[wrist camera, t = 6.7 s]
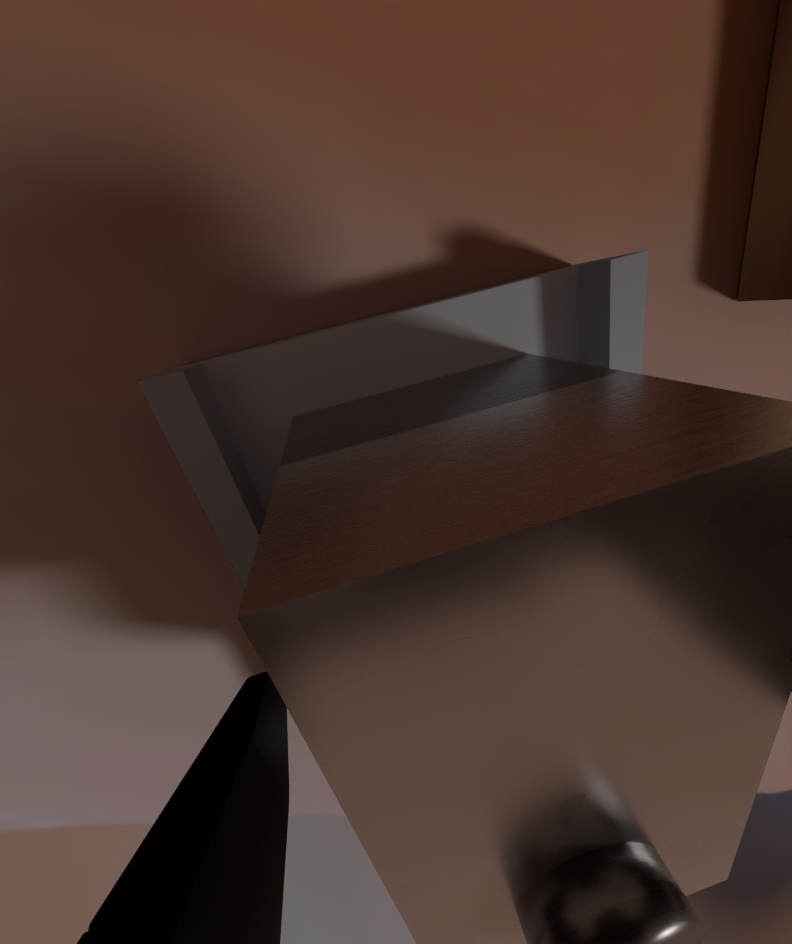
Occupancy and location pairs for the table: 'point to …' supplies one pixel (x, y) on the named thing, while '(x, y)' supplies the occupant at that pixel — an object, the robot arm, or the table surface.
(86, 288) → the table surface
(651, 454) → the grey drawer
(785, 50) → the stand
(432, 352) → the cabinet frame
